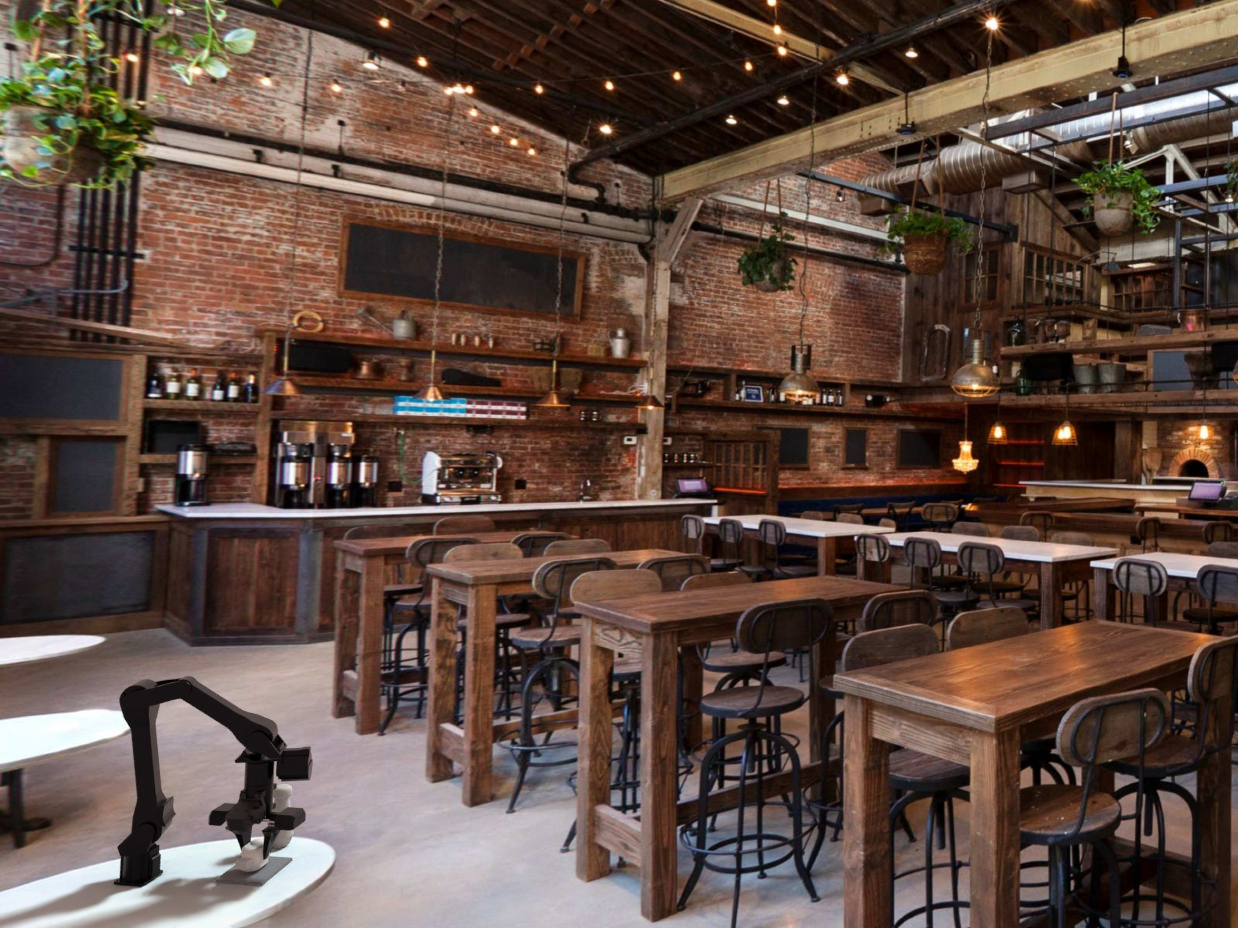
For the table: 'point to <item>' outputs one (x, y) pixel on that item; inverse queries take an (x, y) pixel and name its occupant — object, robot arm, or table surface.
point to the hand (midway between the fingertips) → (255, 858)
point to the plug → (252, 856)
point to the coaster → (255, 873)
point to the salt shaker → (282, 803)
